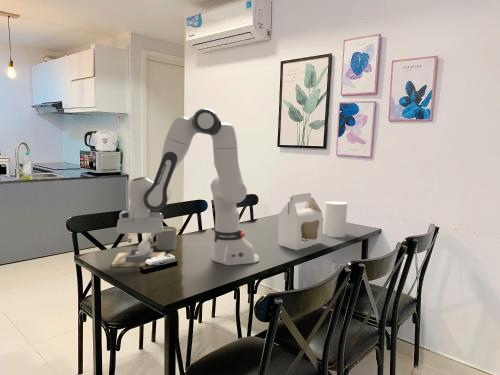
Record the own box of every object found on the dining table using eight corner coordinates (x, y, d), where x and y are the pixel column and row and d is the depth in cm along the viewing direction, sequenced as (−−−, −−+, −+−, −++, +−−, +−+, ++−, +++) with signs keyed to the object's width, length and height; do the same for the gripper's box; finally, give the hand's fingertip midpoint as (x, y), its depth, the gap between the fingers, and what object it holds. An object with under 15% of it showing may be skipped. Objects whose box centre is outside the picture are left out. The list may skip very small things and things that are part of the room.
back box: (153, 253, 180) (153, 248, 180) (150, 261, 169) (150, 256, 168) (130, 254, 178) (130, 249, 178) (126, 262, 167) (125, 256, 167)
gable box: (302, 238, 220) (304, 191, 216) (321, 243, 211) (323, 193, 207) (277, 245, 205) (279, 194, 201) (296, 250, 195) (298, 197, 192)
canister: (348, 234, 231) (351, 202, 229) (338, 238, 221) (340, 205, 218) (329, 230, 240) (331, 199, 237) (318, 234, 230) (320, 202, 227)
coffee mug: (179, 248, 194) (179, 229, 192) (161, 251, 188) (161, 232, 186) (168, 242, 204) (168, 224, 203) (150, 245, 198) (150, 226, 197)
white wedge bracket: (156, 249, 179) (150, 236, 174) (143, 264, 172) (136, 251, 167) (150, 248, 180) (143, 234, 175) (137, 263, 173) (130, 250, 168)
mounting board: (165, 254, 183) (165, 251, 183) (163, 265, 168) (163, 262, 168) (118, 255, 180) (118, 252, 180) (111, 266, 164) (111, 264, 164)
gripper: (163, 211, 176) (164, 239, 178) (118, 211, 172) (119, 240, 174) (162, 213, 169) (163, 243, 171) (115, 214, 166) (116, 244, 168)
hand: (140, 242), depth 173 cm, fingers open, 8 cm apart
